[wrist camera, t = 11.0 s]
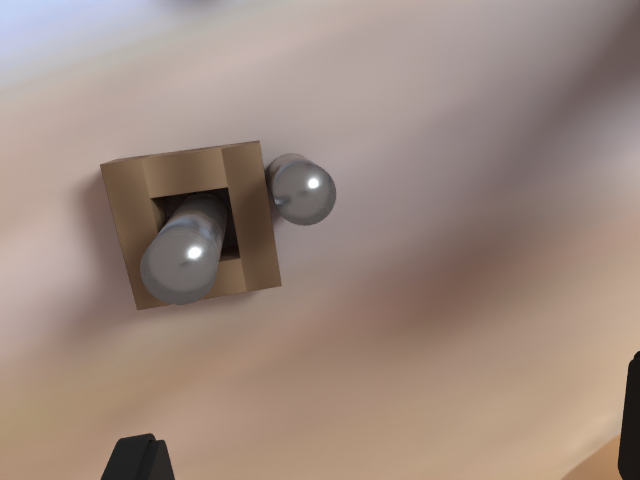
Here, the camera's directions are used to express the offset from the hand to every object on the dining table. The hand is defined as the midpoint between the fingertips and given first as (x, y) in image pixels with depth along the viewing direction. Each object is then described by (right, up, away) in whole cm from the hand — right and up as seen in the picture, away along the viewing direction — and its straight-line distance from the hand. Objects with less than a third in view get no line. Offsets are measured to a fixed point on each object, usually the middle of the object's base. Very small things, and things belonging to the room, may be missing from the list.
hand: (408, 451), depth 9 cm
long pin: (-10, +6, +25) cm, 27 cm away
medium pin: (-4, +9, +25) cm, 27 cm away
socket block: (-10, +6, +24) cm, 27 cm away
